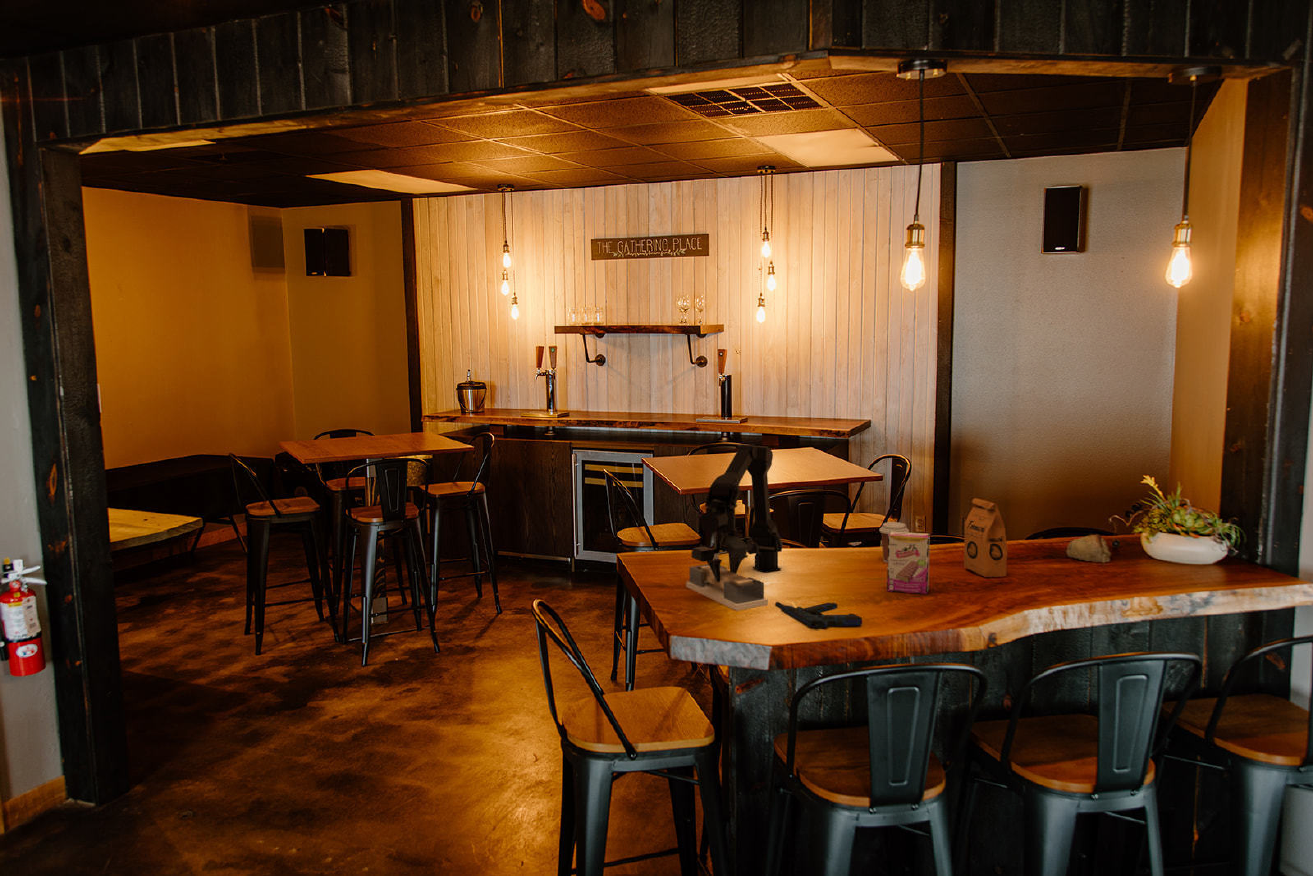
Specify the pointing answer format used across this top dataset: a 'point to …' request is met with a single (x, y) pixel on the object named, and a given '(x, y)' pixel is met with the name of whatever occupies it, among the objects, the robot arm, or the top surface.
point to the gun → (820, 616)
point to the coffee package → (985, 540)
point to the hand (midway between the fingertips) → (725, 580)
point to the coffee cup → (885, 532)
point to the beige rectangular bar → (724, 577)
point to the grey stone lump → (1089, 549)
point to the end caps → (731, 587)
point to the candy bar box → (908, 562)
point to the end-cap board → (718, 595)
